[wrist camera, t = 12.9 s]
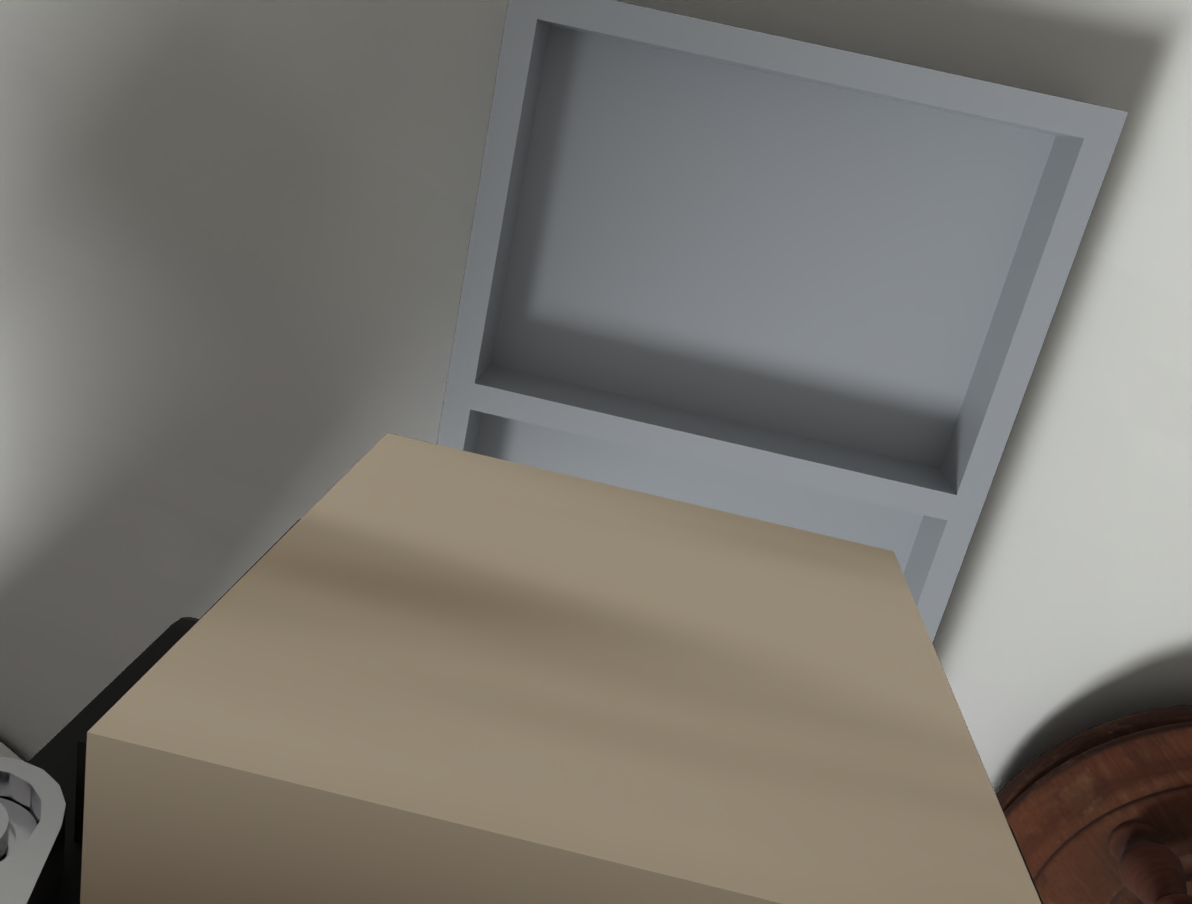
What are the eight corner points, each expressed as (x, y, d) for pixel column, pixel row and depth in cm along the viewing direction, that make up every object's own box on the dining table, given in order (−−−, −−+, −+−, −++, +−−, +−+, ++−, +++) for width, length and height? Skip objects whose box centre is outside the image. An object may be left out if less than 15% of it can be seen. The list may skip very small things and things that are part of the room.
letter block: (759, 947, 11) (796, 1566, 6) (328, 840, 11) (53, 1369, 7) (893, 551, 10) (1075, 992, 5) (386, 432, 10) (74, 743, 5)
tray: (854, 769, 35) (865, 823, 32) (417, 663, 35) (394, 708, 33) (1088, 111, 27) (1128, 112, 25) (530, -10, 28) (511, -22, 25)
